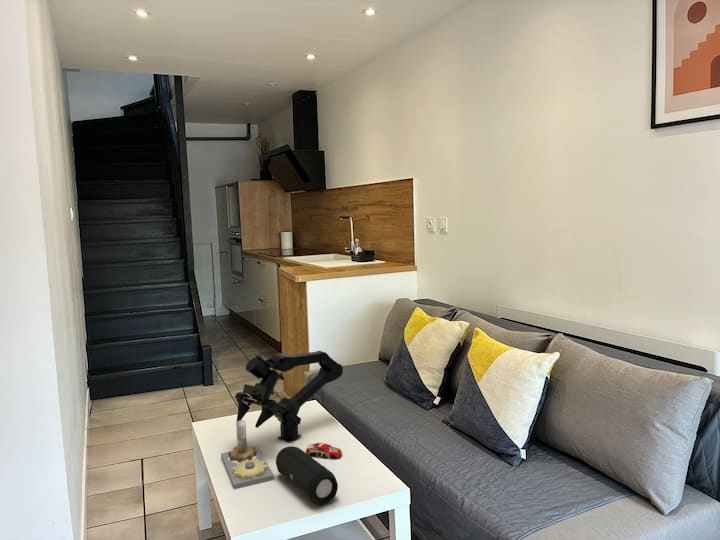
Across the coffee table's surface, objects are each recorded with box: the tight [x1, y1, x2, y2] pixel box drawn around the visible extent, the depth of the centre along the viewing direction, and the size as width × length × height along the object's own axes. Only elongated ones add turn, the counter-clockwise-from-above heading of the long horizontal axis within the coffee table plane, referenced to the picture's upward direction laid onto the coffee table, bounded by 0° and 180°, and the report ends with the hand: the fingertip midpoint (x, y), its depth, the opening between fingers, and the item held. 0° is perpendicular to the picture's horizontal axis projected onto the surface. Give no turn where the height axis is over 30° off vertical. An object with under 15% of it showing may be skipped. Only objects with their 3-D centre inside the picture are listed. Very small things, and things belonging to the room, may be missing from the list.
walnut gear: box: [227, 419, 257, 463], centre depth 189 cm, size 10×10×12 cm
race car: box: [305, 442, 343, 460], centre depth 192 cm, size 13×5×4 cm, turn 72°
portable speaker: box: [275, 445, 339, 505], centre depth 170 cm, size 26×10×10 cm, turn 35°
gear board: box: [220, 445, 275, 490], centre depth 184 cm, size 24×13×4 cm, turn 24°
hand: (246, 424), depth 191 cm, fingers open, 9 cm apart
